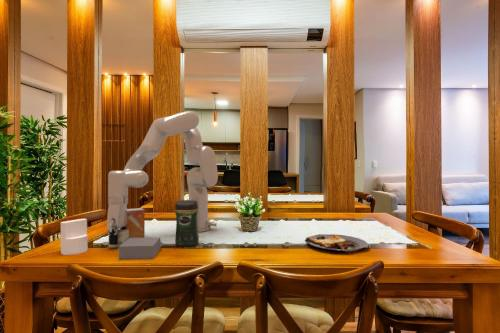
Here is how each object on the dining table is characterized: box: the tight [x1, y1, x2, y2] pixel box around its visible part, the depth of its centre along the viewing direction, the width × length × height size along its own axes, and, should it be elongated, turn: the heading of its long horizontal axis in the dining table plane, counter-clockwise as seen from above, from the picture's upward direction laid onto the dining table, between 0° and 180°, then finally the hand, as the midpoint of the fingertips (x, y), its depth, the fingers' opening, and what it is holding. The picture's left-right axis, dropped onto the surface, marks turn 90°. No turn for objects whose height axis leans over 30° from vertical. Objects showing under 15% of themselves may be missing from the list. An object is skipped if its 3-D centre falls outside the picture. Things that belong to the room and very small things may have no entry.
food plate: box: [304, 233, 369, 253], centre depth 127 cm, size 25×23×4 cm
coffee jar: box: [174, 199, 200, 247], centre depth 129 cm, size 10×8×19 cm
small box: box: [127, 207, 146, 238], centre depth 139 cm, size 8×6×13 cm
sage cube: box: [107, 229, 129, 248], centre depth 127 cm, size 6×6×6 cm
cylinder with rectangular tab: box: [60, 218, 88, 256], centre depth 119 cm, size 9×9×12 cm
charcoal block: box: [118, 236, 162, 260], centre depth 116 cm, size 12×12×5 cm
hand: (118, 241), depth 127 cm, fingers open, 9 cm apart
